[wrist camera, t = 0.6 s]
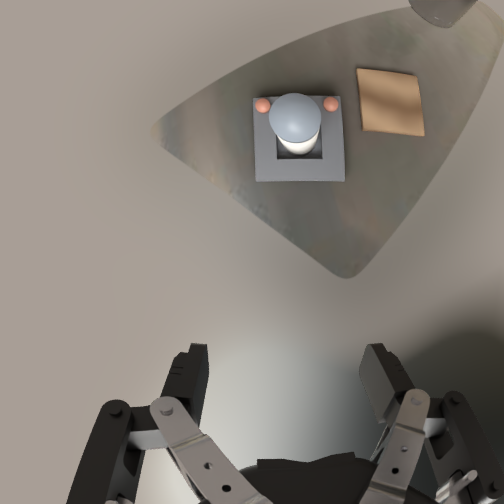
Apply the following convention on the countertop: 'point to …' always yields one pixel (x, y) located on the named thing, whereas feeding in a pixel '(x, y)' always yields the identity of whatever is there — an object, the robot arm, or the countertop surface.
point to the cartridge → (296, 122)
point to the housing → (307, 166)
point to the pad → (390, 102)
